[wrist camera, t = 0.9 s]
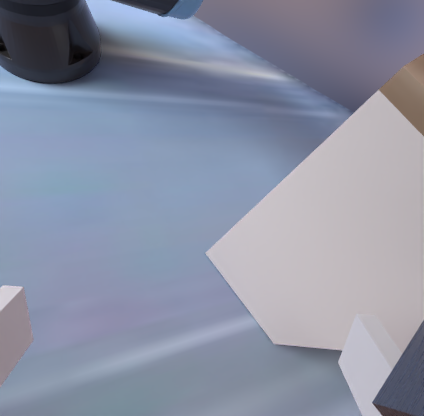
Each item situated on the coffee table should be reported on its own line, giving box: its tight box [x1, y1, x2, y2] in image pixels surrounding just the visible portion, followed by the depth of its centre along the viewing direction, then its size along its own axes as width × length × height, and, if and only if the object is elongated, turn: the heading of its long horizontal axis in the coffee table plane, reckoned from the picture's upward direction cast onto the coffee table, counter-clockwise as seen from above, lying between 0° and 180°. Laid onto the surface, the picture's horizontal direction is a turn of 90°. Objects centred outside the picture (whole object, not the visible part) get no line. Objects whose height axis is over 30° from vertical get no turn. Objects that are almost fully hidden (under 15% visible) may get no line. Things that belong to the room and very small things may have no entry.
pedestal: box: [206, 54, 424, 354], centre depth 27 cm, size 16×14×30 cm
